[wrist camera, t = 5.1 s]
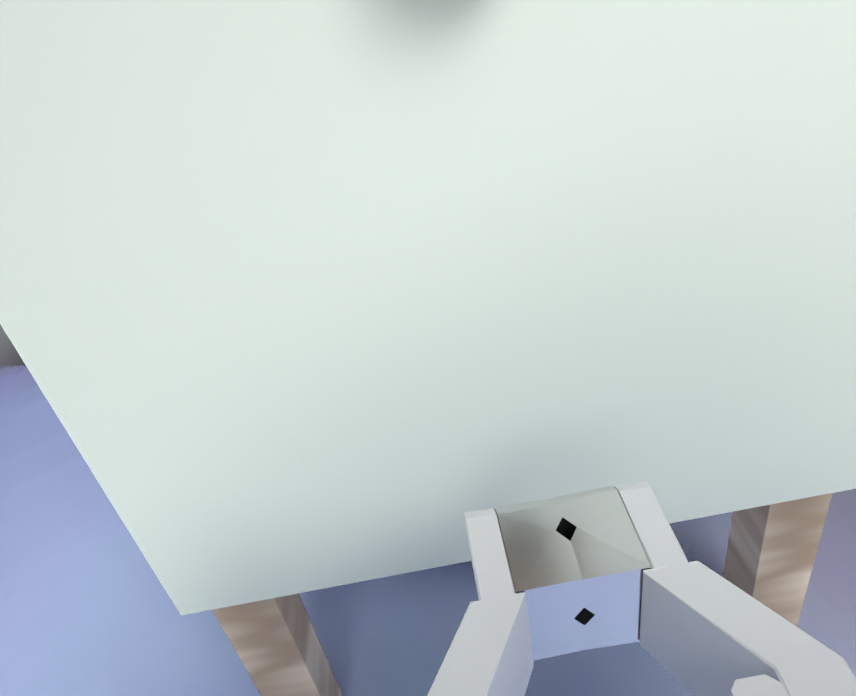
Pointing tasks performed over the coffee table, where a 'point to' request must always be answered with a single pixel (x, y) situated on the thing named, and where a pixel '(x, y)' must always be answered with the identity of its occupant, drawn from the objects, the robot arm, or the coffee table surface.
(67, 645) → the coffee table surface
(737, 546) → the stand
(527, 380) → the lid
